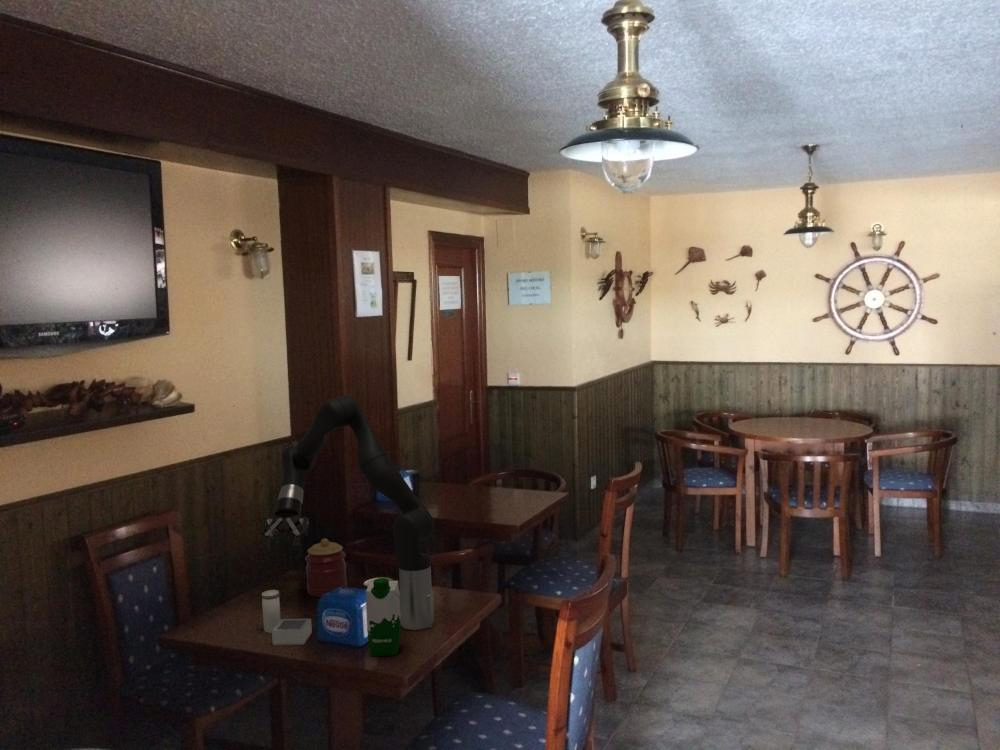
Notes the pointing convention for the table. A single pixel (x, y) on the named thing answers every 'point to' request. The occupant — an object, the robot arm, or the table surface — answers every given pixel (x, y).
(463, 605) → the table surface
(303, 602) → the table surface
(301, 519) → the robot arm
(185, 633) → the table surface
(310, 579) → the canister
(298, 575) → the table surface
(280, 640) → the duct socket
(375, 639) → the milk carton
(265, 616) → the white cylinder
